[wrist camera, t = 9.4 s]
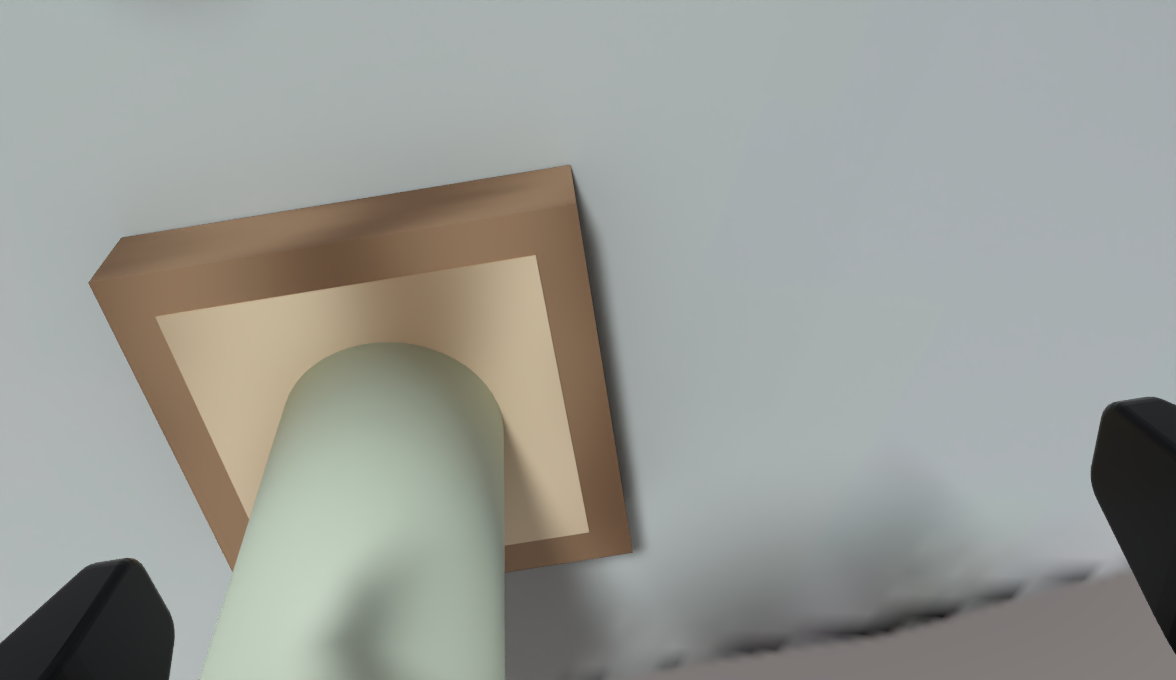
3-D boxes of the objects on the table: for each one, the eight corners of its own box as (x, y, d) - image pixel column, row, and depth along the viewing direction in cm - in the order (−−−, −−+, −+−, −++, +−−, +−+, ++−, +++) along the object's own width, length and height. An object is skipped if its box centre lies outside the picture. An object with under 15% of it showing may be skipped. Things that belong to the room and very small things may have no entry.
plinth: (570, 164, 21) (576, 204, 19) (624, 499, 26) (632, 553, 25) (121, 237, 21) (87, 284, 19) (268, 555, 26) (252, 613, 25)
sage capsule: (480, 325, 20) (470, 618, 14) (521, 496, 23) (529, 809, 17) (251, 361, 21) (132, 672, 14) (319, 527, 23) (247, 853, 17)
